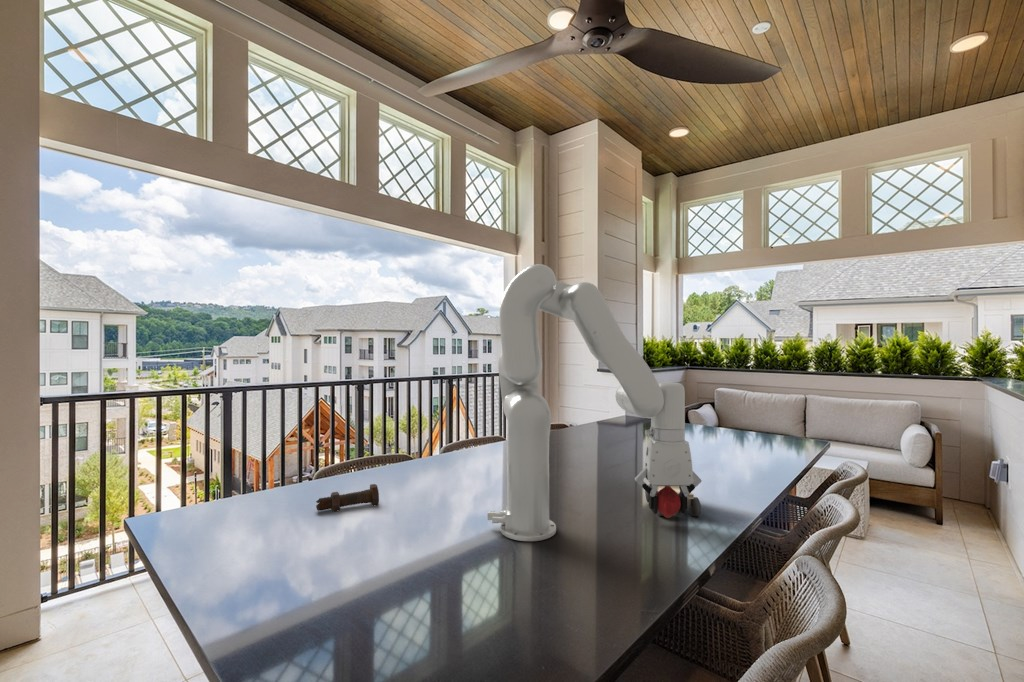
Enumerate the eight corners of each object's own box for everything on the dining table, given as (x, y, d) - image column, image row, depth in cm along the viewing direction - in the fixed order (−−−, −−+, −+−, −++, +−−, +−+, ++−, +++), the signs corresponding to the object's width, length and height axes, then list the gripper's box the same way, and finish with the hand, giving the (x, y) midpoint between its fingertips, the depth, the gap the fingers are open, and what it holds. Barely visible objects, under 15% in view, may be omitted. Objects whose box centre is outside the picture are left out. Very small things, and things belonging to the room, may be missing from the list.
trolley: (700, 518, 114) (700, 462, 114) (660, 518, 114) (660, 462, 114) (680, 499, 128) (680, 449, 128) (645, 499, 128) (644, 449, 129)
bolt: (316, 519, 120) (377, 507, 126) (317, 514, 116) (380, 503, 122) (315, 495, 122) (374, 486, 129) (316, 491, 118) (377, 481, 125)
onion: (684, 522, 108) (684, 487, 108) (659, 522, 108) (659, 487, 108) (676, 513, 114) (676, 480, 114) (652, 513, 114) (652, 480, 114)
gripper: (634, 438, 107) (634, 517, 107) (711, 438, 107) (711, 518, 107) (627, 431, 115) (627, 506, 115) (698, 432, 114) (698, 506, 114)
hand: (667, 511), depth 111 cm, fingers closed on onion, 5 cm apart
